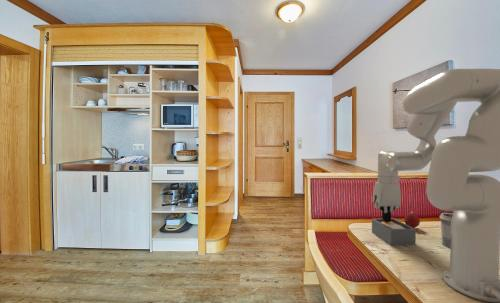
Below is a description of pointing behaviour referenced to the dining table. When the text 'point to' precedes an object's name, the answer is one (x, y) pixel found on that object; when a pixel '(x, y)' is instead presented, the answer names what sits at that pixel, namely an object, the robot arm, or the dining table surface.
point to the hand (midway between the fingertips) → (386, 220)
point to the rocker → (392, 225)
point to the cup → (446, 228)
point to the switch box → (394, 233)
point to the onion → (411, 220)
